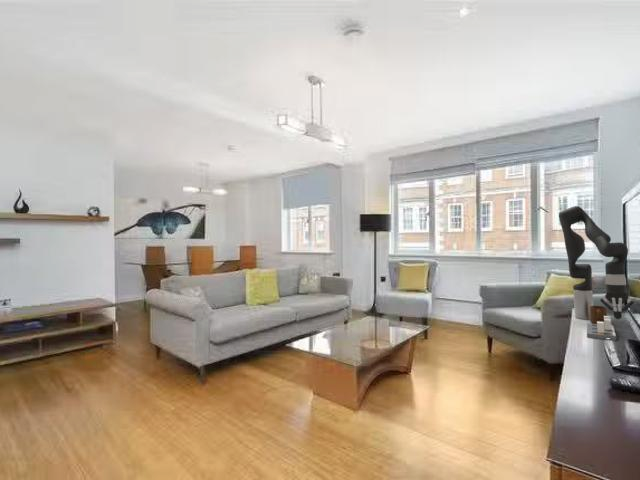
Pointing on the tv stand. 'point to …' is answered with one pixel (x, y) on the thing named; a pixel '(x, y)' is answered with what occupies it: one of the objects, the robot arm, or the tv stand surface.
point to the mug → (597, 314)
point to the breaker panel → (593, 333)
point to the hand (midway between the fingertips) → (617, 318)
